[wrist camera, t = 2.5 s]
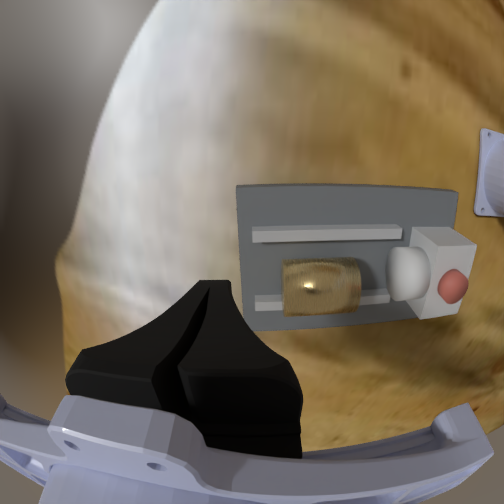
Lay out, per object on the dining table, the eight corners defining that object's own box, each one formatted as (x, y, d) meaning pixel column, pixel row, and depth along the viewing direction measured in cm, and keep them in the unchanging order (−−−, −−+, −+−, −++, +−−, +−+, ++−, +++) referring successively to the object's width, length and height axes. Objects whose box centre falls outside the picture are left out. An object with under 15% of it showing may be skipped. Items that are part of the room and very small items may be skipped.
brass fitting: (350, 245, 20) (365, 287, 17) (341, 282, 23) (351, 323, 20) (281, 247, 20) (287, 291, 17) (280, 285, 23) (283, 328, 20)
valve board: (451, 189, 20) (496, 210, 14) (427, 309, 25) (455, 347, 19) (236, 185, 20) (229, 206, 15) (244, 324, 25) (242, 374, 19)
